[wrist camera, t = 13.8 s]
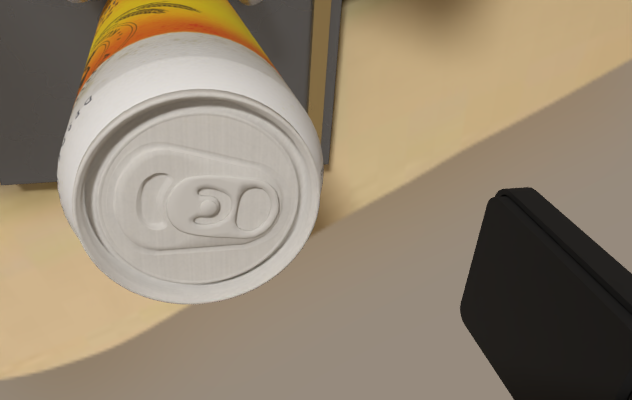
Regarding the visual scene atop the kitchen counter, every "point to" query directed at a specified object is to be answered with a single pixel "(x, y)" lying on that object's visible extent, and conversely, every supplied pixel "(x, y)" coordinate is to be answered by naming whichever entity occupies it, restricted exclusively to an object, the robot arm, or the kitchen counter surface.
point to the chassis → (73, 50)
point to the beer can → (187, 154)
